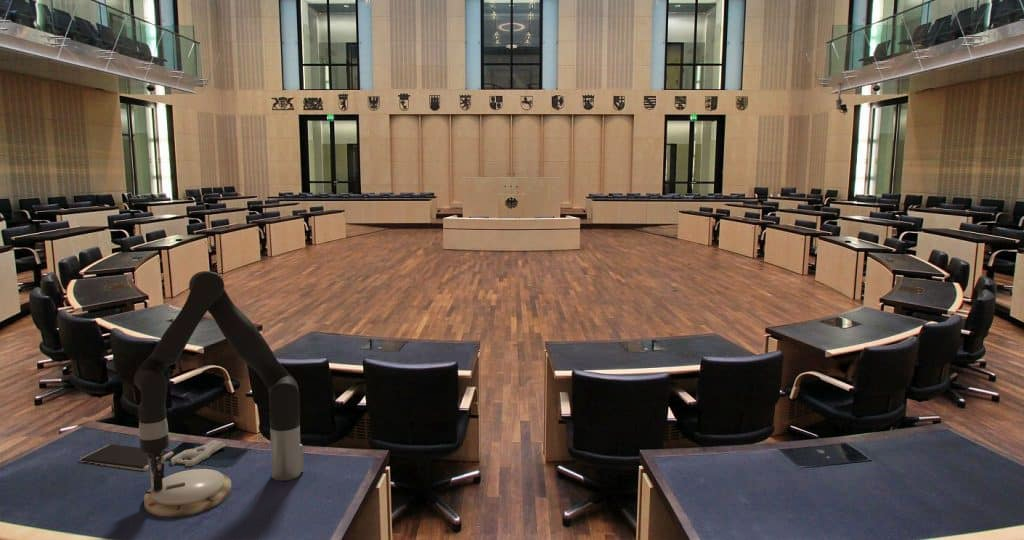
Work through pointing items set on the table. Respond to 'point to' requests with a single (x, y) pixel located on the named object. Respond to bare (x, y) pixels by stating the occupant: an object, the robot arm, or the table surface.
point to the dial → (188, 487)
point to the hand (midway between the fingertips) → (157, 487)
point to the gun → (197, 453)
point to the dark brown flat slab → (122, 457)
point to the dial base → (188, 508)
